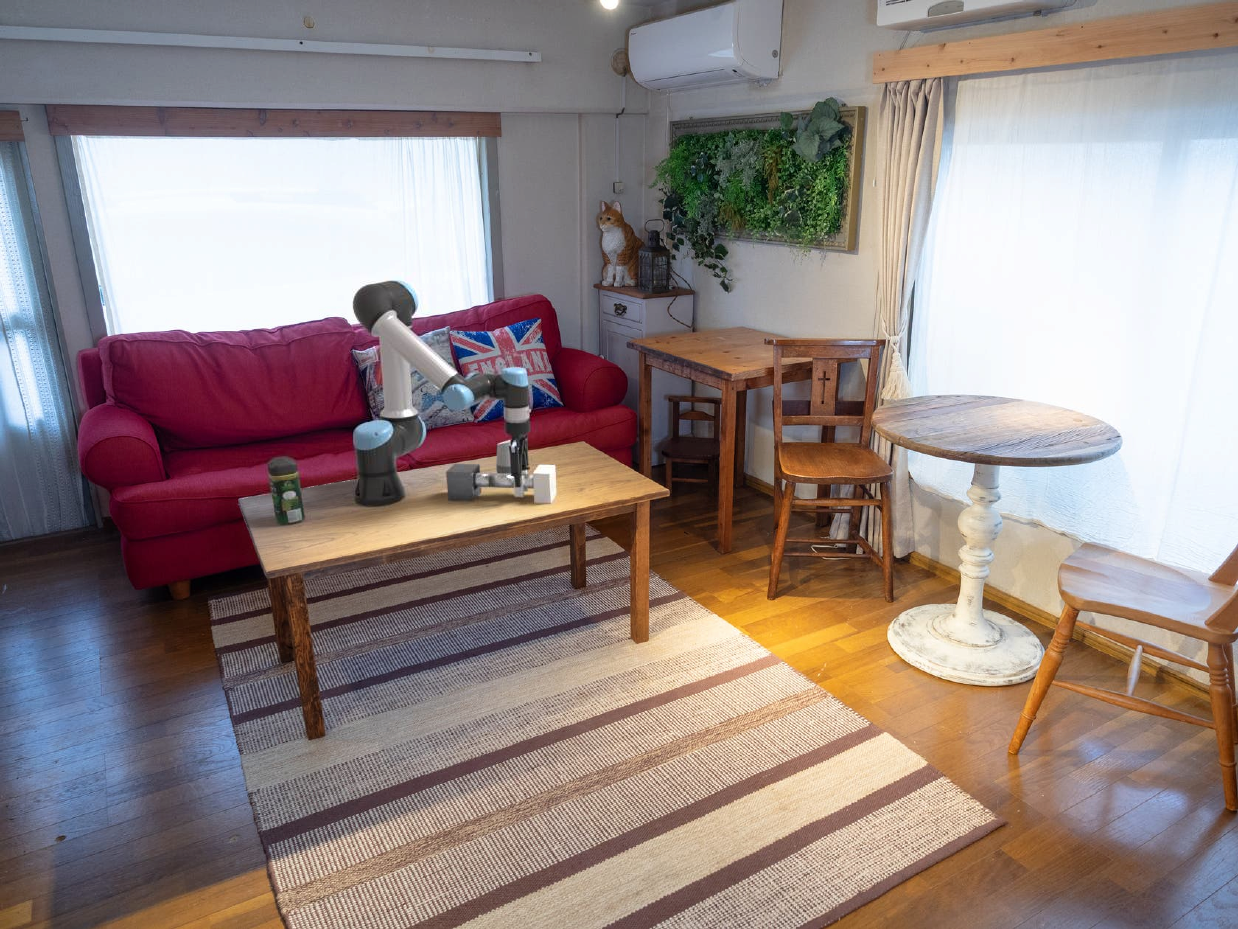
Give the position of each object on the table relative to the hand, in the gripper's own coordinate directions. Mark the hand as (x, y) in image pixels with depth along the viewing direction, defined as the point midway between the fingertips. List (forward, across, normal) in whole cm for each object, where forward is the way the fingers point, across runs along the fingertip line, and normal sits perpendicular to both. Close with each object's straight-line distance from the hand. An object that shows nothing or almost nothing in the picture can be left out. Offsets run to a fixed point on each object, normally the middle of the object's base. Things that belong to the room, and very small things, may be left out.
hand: (521, 493), depth 263 cm
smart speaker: (+2, +18, +8) cm, 20 cm away
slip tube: (-2, 0, +5) cm, 5 cm away
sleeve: (+1, 0, +18) cm, 18 cm away
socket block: (+1, 0, -8) cm, 8 cm away
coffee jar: (+2, -24, +63) cm, 67 cm away
